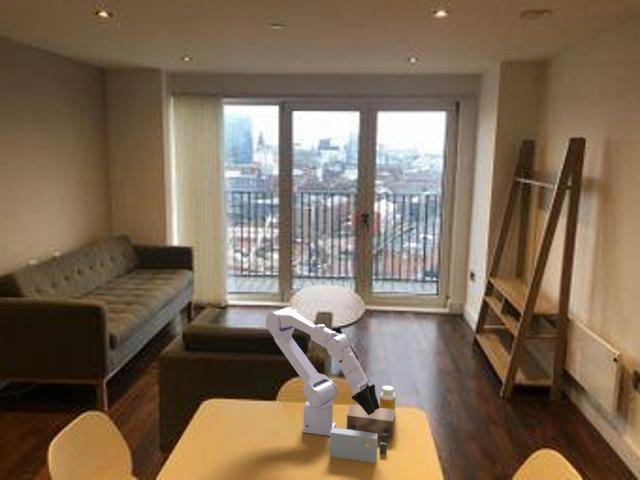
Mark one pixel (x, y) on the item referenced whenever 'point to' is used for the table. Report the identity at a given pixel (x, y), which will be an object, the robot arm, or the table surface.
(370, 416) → the cabinet
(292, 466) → the table surface
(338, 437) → the door panel
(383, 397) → the supplement bottle
